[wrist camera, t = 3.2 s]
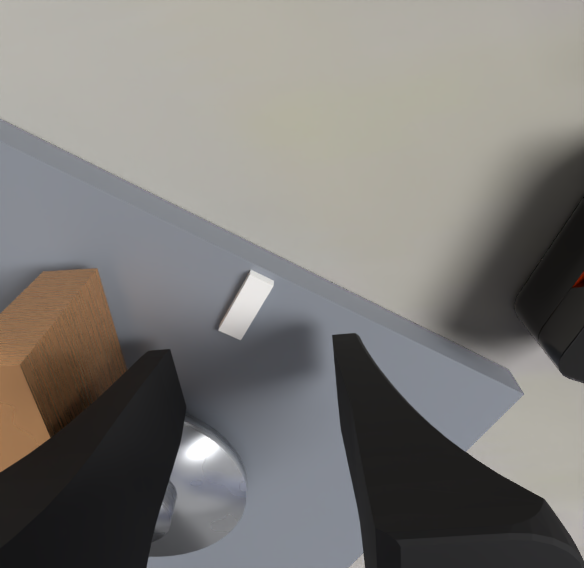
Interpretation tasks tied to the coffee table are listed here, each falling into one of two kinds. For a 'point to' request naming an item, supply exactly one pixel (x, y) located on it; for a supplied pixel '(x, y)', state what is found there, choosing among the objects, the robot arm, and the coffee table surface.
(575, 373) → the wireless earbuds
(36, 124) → the coffee table surface
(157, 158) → the coffee table surface
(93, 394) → the orange block with disc
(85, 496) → the robot arm
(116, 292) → the board
